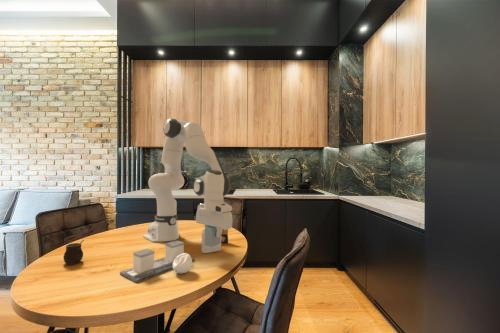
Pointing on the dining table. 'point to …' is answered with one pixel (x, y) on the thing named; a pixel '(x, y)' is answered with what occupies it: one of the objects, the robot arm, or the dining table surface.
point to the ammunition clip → (224, 236)
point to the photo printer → (207, 248)
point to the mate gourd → (73, 253)
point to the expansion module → (211, 236)
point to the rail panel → (159, 268)
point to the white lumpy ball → (182, 263)
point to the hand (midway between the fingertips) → (212, 235)
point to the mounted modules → (146, 257)
